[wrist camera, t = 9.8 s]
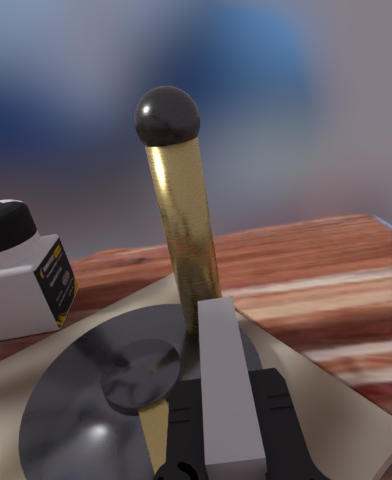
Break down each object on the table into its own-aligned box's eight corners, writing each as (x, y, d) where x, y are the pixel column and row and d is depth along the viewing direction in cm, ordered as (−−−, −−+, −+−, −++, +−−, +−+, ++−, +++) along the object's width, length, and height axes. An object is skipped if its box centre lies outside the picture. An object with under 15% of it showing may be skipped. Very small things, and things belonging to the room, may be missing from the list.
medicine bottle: (62, 331, 30) (9, 215, 25) (-13, 344, 30) (-81, 231, 25) (80, 288, 37) (41, 188, 32) (18, 299, 37) (-31, 201, 32)
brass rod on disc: (11, 618, 13) (-465, 204, 5) (34, 359, 25) (-87, 130, 18) (322, 441, 17) (331, 57, 9) (206, 293, 29) (169, 84, 22)
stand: (-16, 382, 26) (-40, 346, 24) (178, 280, 35) (171, 248, 33) (50, 924, 9) (-19, 935, 7) (407, 442, 17) (418, 392, 16)
